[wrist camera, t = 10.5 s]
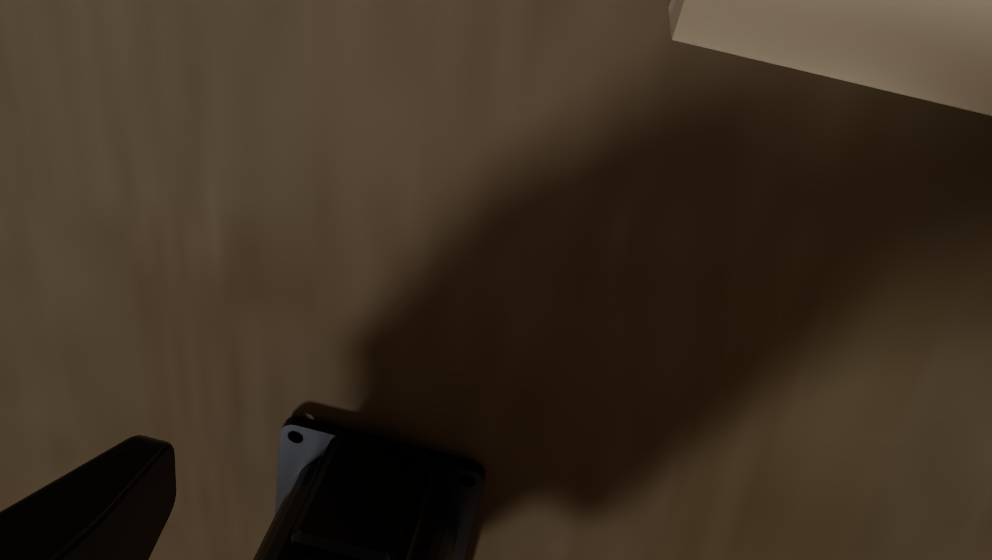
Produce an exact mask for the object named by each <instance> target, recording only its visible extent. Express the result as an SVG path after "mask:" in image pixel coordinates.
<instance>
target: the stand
mask: <svg viewBox="0 0 992 560" xmlns="http://www.w3.org/2000/svg"><path fill="white" fill-rule="evenodd" d="M669 16H670V25H671V34H672V40H675V41H679V42H684V43H688V44H692V45H696V46H700V47H705V48H709V49H713V50H717V51H721V52H726V53H730V54H734V55H738V56H742V57H747V58H751V59H755V60H759V61H764V62H768V63H772V64H776V65H780V66H785V67H789V68H793V69H797V70H801V71H806V72H810V73H814V74H818V75H822V76H827V77H831V78H835V79H839V80H843V81H848V82H852V83H856V84H860V85H864V86H869V87H873V88H877V89H881V90H885V91H890V92H894V93H898V94H902V95H906V96H911V97H915V98H919V99H923V100H927V101H932V102H936V103H940V104H944V105H949V106H953V107H957V108H961V109H965V110H970V111H974V112H978V113H982V114H986V115H991V116H992V0H671V2H670V6H669Z"/></svg>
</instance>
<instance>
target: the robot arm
mask: <svg viewBox="0 0 992 560" xmlns="http://www.w3.org/2000/svg"><path fill="white" fill-rule="evenodd" d="M295 431H297V432H299V433H300V434H298V433H296V432H295ZM464 475H469V476H471V477H473V478H468V477H466V476H464ZM485 476H486V472H485V470H484V468H483V466H481V465H480V464H479V463H477V462H475V461H472V460H468V459H464V458H460V457H456V456H452V455H448V454H444V453H440V452H437V451H433V450H429V449H425V448H421V447H417V446H413V445H409V444H405V443H401V442H398V441H394V440H390V439H386V438H382V437H378V436H374V435H370V434H366V433H362V432H358V431H355V430H351V429H347V428H343V427H339V426H335V425H331V424H327V423H323V422H319V421H315V420H312V419H308V418H304V417H298V416H294V417H290V418H288V419H287V420H286V422H285V423H284V425H283V427H282V429H281V431H280V441H279V458H278V476H277V494H276V511H275V517H274V519H273V521H272V523H271V525H270V527H269V529H268V531H267V533H266V535H265V537H264V539H263V541H262V543H261V545H260V547H259V549H258V551H257V553H256V555H255V557H254V559H253V560H464V557H465V554H466V550H467V546H468V542H469V538H470V535H471V531H472V527H473V523H474V519H475V515H476V512H477V508H478V504H479V500H480V496H481V493H482V489H483V485H484V481H485ZM175 497H176V477H175V455H174V448H173V447H172V445H171V444H170V443H168V442H166V441H162V440H158V439H154V438H151V437H147V436H142V435H137V436H133V437H130V438H128V439H126V440H125V441H123V442H121V443H119V444H118V445H116V446H114V447H112V448H111V449H109V450H107V451H105V452H104V453H102V454H100V455H99V456H97V457H95V458H93V459H92V460H90V461H88V462H86V463H85V464H83V465H81V466H79V467H78V468H76V469H74V470H72V471H71V472H69V473H67V474H66V475H64V476H62V477H60V478H59V479H57V480H55V481H53V482H52V483H50V484H48V485H46V486H45V487H43V488H41V489H39V490H38V491H36V492H34V493H32V494H31V495H29V496H27V497H26V498H24V499H22V500H20V501H19V502H17V503H15V504H13V505H12V506H10V507H8V508H6V509H5V510H3V511H1V512H0V560H148V559H149V557H150V555H151V553H152V551H153V549H154V547H155V544H156V542H157V540H158V538H159V536H160V534H161V532H162V530H163V528H164V526H165V524H166V522H167V520H168V518H169V516H170V513H171V511H172V508H173V505H174V502H175Z"/></svg>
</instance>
